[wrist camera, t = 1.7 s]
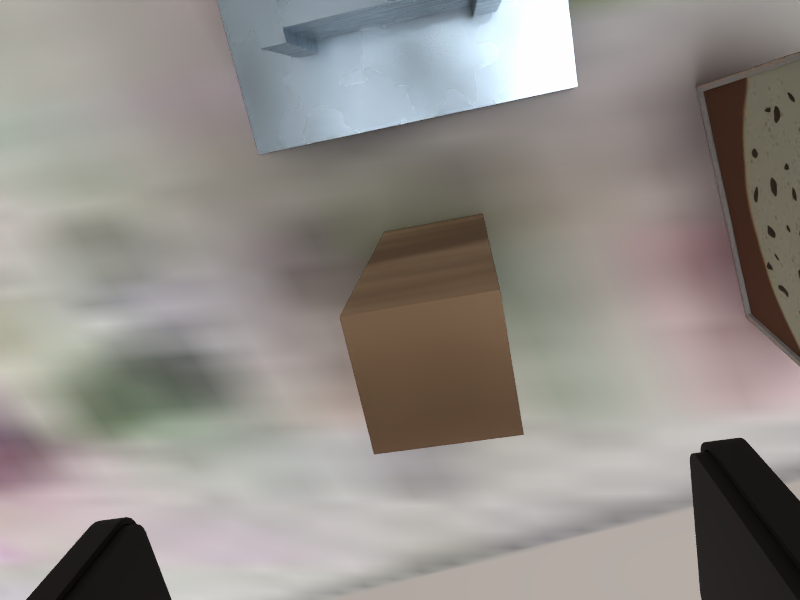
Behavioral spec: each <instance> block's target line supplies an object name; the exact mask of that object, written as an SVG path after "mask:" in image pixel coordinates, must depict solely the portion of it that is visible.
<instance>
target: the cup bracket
mask: <svg viewBox="0 0 800 600" xmlns="http://www.w3.org/2000/svg"><path fill="white" fill-rule="evenodd" d="M217 3H218V6H219V10H220V14H221V18H222V21H223V25H224V29H225V32H226V36H227V40H228V43H229V47H230V51H231V55H232V58H233V62H234V66H235V69H236V73H237V77H238V80H239V84H240V88H241V91H242V95H243V99H244V103H245V106H246V110H247V114H248V117H249V121H250V125H251V128H252V132H253V136H254V139H255V143H256V147H257V151H258V154H264V153H269V152H273V151H278V150H283V149H287V148H292V147H297V146H301V145H306V144H311V143H315V142H320V141H325V140H330V139H334V138H339V137H344V136H348V135H353V134H358V133H362V132H367V131H372V130H376V129H381V128H386V127H390V126H395V125H400V124H404V123H409V122H414V121H419V120H423V119H428V118H433V117H437V116H442V115H447V114H451V113H456V112H461V111H465V110H470V109H475V108H479V107H484V106H489V105H494V104H498V103H503V102H508V101H512V100H517V99H522V98H526V97H531V96H536V95H540V94H545V93H550V92H554V91H559V90H564V89H569V88H573V87H578V85H577V76H576V67H575V58H574V49H573V40H572V31H571V22H570V14H569V5H568V0H217Z"/></svg>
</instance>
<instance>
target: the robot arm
mask: <svg viewBox="0 0 800 600" xmlns="http://www.w3.org/2000/svg"><path fill="white" fill-rule="evenodd" d="M690 469H691V481H692V494H693V507H694V519H695V532H696V545H697V557H698V569H699V582H700V593H701V598H702V600H800V501H799V500H798V499H797V498H796V496H795V495H794V494H793V493H792V492H791V491H790V490H789V489H788V487H787V486H786V485H785V484H784V483H783V482H782V481H781V480H780V478H779V477H778V476H777V475H776V474H775V473H774V472H773V471H772V469H771V468H770V467H769V466H768V465H767V464H766V463H765V462H764V460H763V459H762V458H761V457H760V456H759V455H758V454H757V453H756V452H755V450H754V449H753V448H752V447H751V446H750V445H749V444H748V443H747V441H745V440H744V439H743V438H734V439H726V440H719V441H711V442H704V443H703V444H702V445H701V453H693V454H691V456H690ZM26 600H171V597H170V595H169V592H168V589H167V587H166V584H165V581H164V579H163V576H162V574H161V571H160V568H159V566H158V563H157V560H156V558H155V555H154V553H153V550H152V547H151V545H150V542H149V539H148V537H147V534H146V532H145V530H144V528H143V527H142V526H141V525H138V524H136V522H135V521H134V520H133V519H132V518H128V517H125V518H117V519H110V520H102V521H98V522H95V523H94V524H92V525H91V526H90V527H89V528H88V530H87V531H86V532H85V533H84V534H83V535H82V536H81V538H80V539H79V540H78V541H77V542H76V543H75V544H74V546H73V547H72V548H71V549H70V550H69V551H68V552H67V554H66V555H65V556H64V557H63V558H62V559H61V560H60V562H59V563H58V564H57V565H56V566H55V567H54V568H53V570H52V571H51V572H50V573H49V574H48V575H47V576H46V578H45V579H44V580H43V581H42V582H41V583H40V584H39V586H38V587H37V588H36V589H35V590H34V591H33V592H32V594H31V595H30V596H29V597H28V598H27V599H26Z"/></svg>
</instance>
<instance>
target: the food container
mask: <svg viewBox="0 0 800 600" xmlns="http://www.w3.org/2000/svg"><path fill="white" fill-rule="evenodd" d="M696 91H697V96H698V100H699V105H700V109H701V114H702V118H703V123H704V127H705V132H706V137H707V141H708V146H709V150H710V155H711V159H712V164H713V169H714V173H715V178H716V182H717V187H718V191H719V196H720V201H721V205H722V210H723V214H724V219H725V223H726V228H727V233H728V237H729V242H730V246H731V251H732V255H733V260H734V265H735V269H736V274H737V278H738V283H739V287H740V292H741V297H742V301H743V306H744V310H745V315H746V317H747V318H748V319H749V320H750V321H751V322H752V323H753V324H754V325H755V326H756V327H757V328H758V329H760V330H761V331H762V332H763V333H764V334H765V335H766V336H767V337H768V338H769V339H770V340H772V341H773V342H774V343H775V344H776V345H777V346H778V347H779V348H780V349H781V350H782V351H784V352H785V353H786V354H787V355H788V356H789V357H790V358H791V359H792V360H793V361H794V362H795V363H797V364H798V365H799V366H800V52H797V53H794V54H791V55H788V56H785V57H782V58H779V59H776V60H773V61H771V62H768V63H765V64H762V65H759V66H756V67H753V68H750V69H747V70H744V71H741V72H738V73H735V74H732V75H729V76H726V77H723V78H720V79H717V80H715V81H712V82H709V83H706V84H703V85H700V86H697V87H696Z"/></svg>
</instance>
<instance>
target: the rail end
mask: <svg viewBox="0 0 800 600" xmlns="http://www.w3.org/2000/svg"><path fill="white" fill-rule="evenodd" d="M340 320H341V324H342V328H343V332H344V336H345V340H346V344H347V348H348V352H349V356H350V360H351V364H352V368H353V372H354V376H355V380H356V384H357V388H358V392H359V396H360V400H361V404H362V408H363V412H364V416H365V420H366V424H367V428H368V432H369V436H370V440H371V444H372V448H373V452H374V454H381V453H388V452H396V451H404V450H411V449H419V448H426V447H434V446H441V445H449V444H457V443H464V442H472V441H479V440H487V439H494V438H502V437H510V436H517V435H524V434H523V428H522V422H521V415H520V409H519V403H518V397H517V391H516V385H515V379H514V373H513V367H512V360H511V354H510V348H509V342H508V336H507V330H506V324H505V318H504V312H503V305H502V299H501V293H500V288H499V284H498V279H497V275H496V270H495V266H494V262H493V257H492V253H491V249H490V244H489V240H488V235H487V231H486V227H485V222H484V218H483V214H478V215H473V216H467V217H462V218H457V219H451V220H446V221H441V222H435V223H430V224H424V225H419V226H414V227H408V228H403V229H398V230H392V231H387V232H384V234H383V236H382V238H381V239H380V241H379V243H378V245H377V247H376V249H375V251H374V253H373V255H372V256H371V258H370V260H369V262H368V264H367V266H366V268H365V270H364V272H363V274H362V275H361V277H360V279H359V281H358V283H357V285H356V287H355V289H354V291H353V292H352V294H351V296H350V298H349V300H348V302H347V304H346V306H345V308H344V309H343V311H342V313H341V315H340Z"/></svg>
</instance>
